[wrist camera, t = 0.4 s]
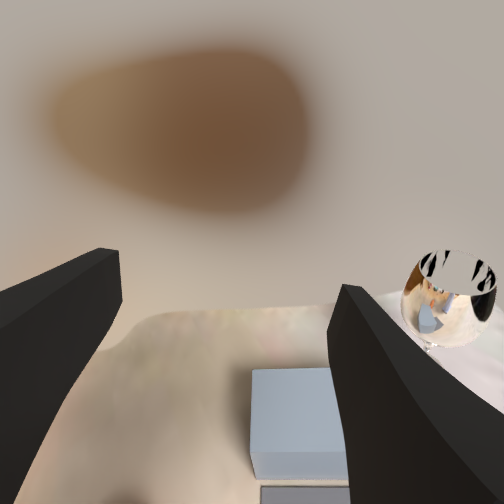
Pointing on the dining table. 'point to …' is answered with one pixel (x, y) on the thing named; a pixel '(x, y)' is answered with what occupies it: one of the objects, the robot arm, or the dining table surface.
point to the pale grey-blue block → (296, 426)
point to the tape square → (304, 495)
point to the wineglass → (448, 299)
